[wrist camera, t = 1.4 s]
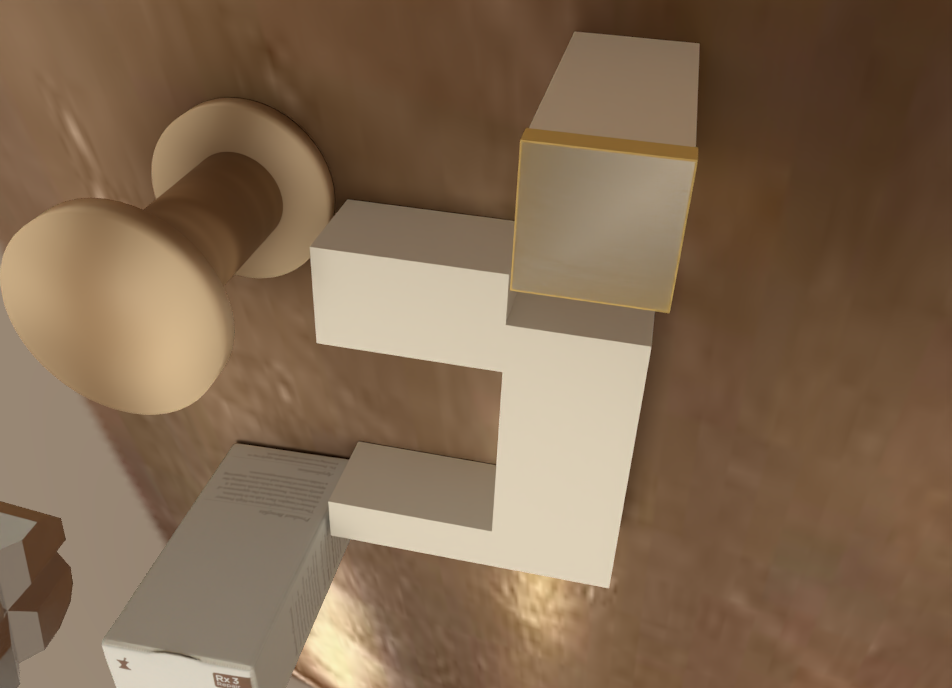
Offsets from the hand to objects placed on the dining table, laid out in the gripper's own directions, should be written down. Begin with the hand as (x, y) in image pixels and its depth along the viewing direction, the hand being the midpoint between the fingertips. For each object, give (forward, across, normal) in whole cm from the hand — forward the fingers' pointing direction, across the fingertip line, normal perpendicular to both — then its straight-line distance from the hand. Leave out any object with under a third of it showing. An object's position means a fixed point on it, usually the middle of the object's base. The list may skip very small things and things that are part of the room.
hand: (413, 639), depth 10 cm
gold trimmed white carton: (+24, -1, +1) cm, 24 cm away
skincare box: (+25, +10, +22) cm, 35 cm away
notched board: (+24, +1, +15) cm, 28 cm away
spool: (+24, +12, +8) cm, 28 cm away
